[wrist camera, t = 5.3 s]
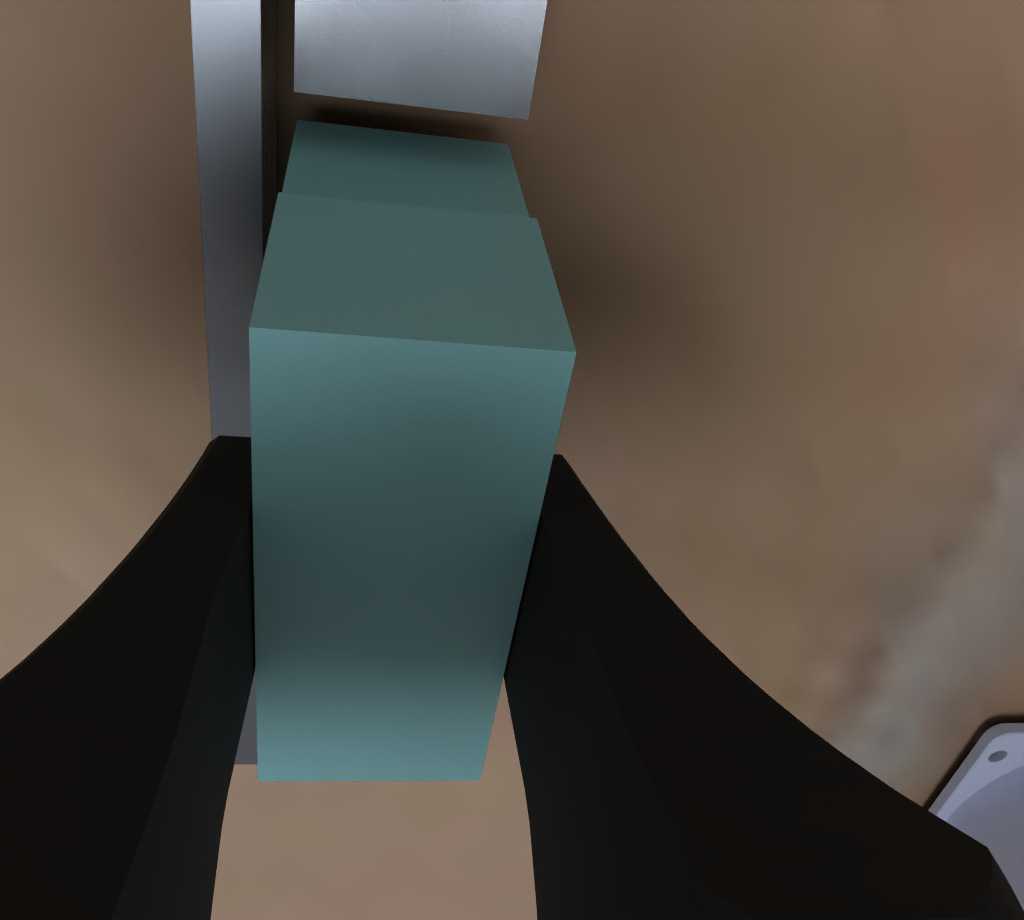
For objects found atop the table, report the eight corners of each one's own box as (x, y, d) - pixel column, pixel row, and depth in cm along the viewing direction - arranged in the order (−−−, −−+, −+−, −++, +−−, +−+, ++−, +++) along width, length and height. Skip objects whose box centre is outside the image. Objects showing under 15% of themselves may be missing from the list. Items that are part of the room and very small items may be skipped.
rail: (422, 684, 22) (425, 764, 21) (240, 681, 22) (227, 764, 20) (588, -473, 11) (628, -512, 9) (199, -565, 10) (160, -626, 8)
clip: (454, 499, 18) (479, 780, 13) (292, 491, 17) (258, 781, 13) (511, 130, 14) (576, 352, 9) (297, 104, 13) (249, 327, 8)
